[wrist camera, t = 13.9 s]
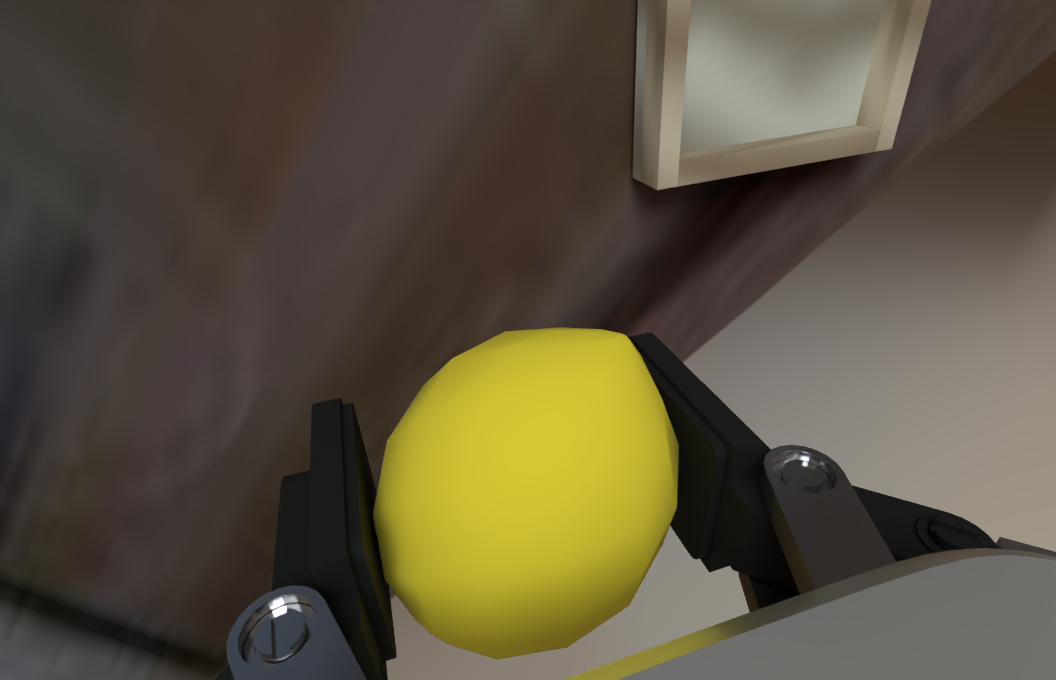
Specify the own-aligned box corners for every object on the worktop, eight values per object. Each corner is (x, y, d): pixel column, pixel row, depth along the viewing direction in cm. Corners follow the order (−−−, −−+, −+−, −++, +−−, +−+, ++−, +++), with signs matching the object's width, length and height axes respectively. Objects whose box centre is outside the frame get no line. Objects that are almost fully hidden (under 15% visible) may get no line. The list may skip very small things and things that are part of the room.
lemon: (462, 230, 11) (594, 327, 6) (639, 338, 14) (818, 459, 9) (295, 510, 12) (306, 769, 7) (493, 558, 15) (590, 767, 10)
